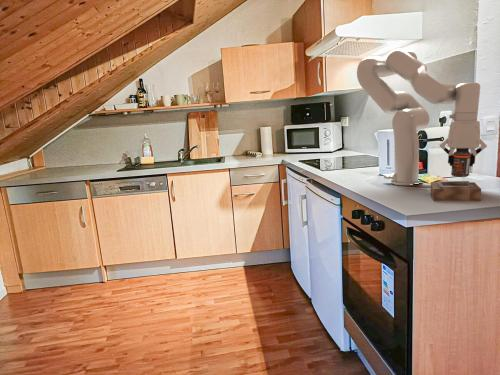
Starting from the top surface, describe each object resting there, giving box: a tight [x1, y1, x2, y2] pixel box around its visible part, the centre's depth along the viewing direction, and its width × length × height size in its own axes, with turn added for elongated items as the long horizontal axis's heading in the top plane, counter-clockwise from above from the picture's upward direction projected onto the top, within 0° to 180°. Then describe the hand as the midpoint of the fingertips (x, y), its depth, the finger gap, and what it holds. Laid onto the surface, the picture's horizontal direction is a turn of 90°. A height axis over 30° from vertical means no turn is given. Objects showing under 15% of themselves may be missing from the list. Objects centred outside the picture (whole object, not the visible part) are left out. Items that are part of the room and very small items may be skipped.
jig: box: [430, 180, 482, 202], centre depth 125 cm, size 14×12×5 cm
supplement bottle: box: [450, 149, 471, 178], centre depth 135 cm, size 6×6×11 cm
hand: (460, 165), depth 136 cm, fingers closed on supplement bottle, 6 cm apart
